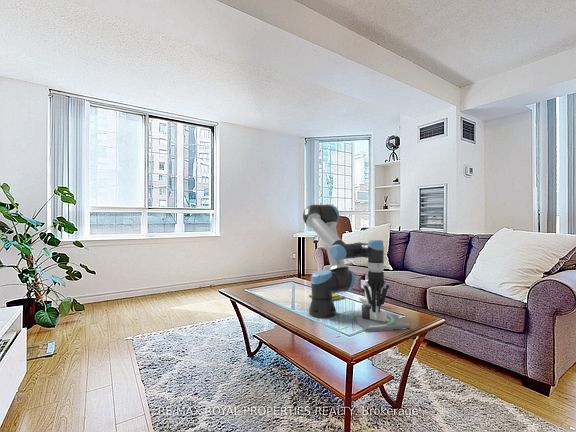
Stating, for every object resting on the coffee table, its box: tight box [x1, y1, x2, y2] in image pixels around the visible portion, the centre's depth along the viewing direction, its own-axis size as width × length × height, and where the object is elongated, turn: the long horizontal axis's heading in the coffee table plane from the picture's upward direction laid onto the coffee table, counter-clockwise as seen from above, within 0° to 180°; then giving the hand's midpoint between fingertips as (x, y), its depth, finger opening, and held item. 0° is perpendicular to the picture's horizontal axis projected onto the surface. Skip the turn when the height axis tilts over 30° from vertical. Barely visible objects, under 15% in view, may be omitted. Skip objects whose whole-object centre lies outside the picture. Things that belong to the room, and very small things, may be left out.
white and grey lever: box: [361, 304, 389, 322], centre depth 152 cm, size 14×5×6 cm, turn 50°
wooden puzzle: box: [308, 293, 346, 301], centre depth 204 cm, size 18×19×4 cm
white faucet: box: [358, 279, 372, 305], centre depth 185 cm, size 7×9×15 cm
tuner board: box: [352, 313, 411, 333], centre depth 151 cm, size 22×18×2 cm
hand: (376, 318), depth 149 cm, fingers closed
